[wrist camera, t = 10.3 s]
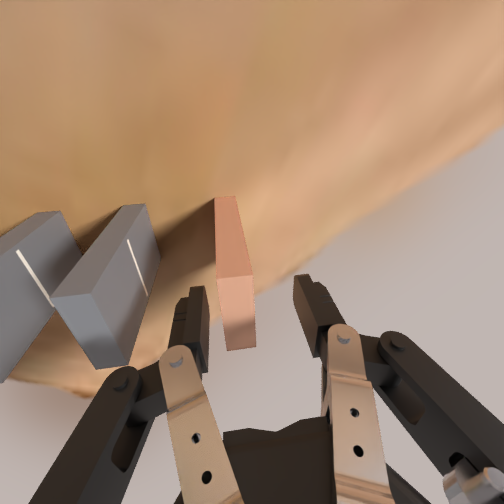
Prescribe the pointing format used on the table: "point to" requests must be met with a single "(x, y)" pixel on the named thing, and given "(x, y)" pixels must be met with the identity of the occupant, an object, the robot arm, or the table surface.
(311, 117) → the table surface
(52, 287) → the domino
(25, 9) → the table surface
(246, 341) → the domino
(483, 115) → the table surface
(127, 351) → the domino
